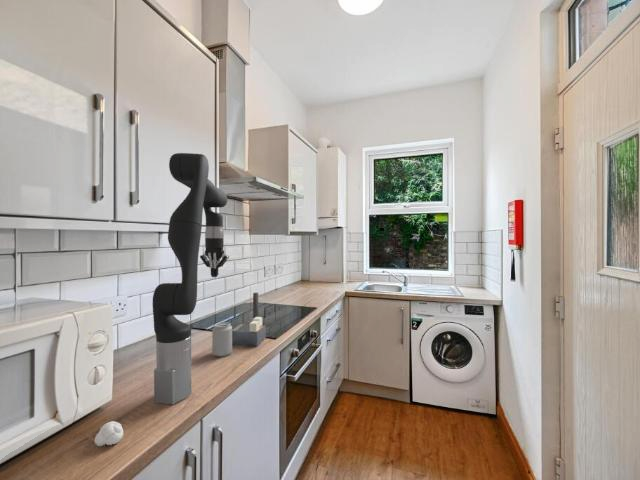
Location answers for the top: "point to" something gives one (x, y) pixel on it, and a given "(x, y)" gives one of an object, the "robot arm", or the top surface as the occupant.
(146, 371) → the top surface
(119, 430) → the microfossil shell
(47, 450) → the top surface
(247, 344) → the grey storage bin
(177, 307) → the robot arm
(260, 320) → the toggle far
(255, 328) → the toggle near
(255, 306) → the post
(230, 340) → the can
